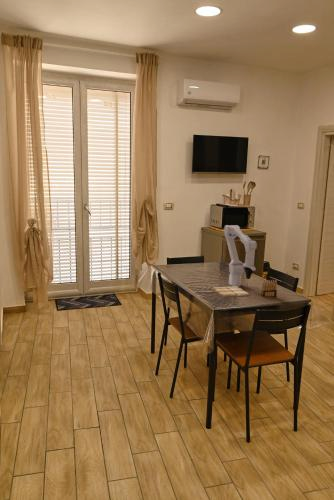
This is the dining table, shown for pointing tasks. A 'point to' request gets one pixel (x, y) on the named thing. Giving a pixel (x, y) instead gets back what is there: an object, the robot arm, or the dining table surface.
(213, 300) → the dining table surface
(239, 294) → the ash plank
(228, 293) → the laid oak boards
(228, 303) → the dining table surface
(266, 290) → the ammunition clip
